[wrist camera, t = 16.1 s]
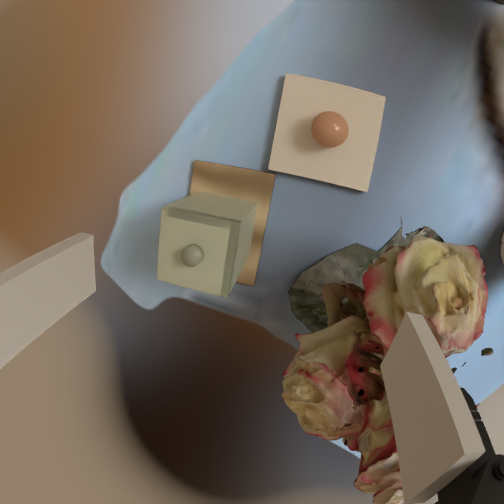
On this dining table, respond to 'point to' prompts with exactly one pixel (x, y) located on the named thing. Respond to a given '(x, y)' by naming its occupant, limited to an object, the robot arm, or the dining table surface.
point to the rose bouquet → (376, 339)
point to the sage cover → (205, 241)
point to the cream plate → (305, 148)
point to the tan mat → (243, 187)
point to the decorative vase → (502, 248)
